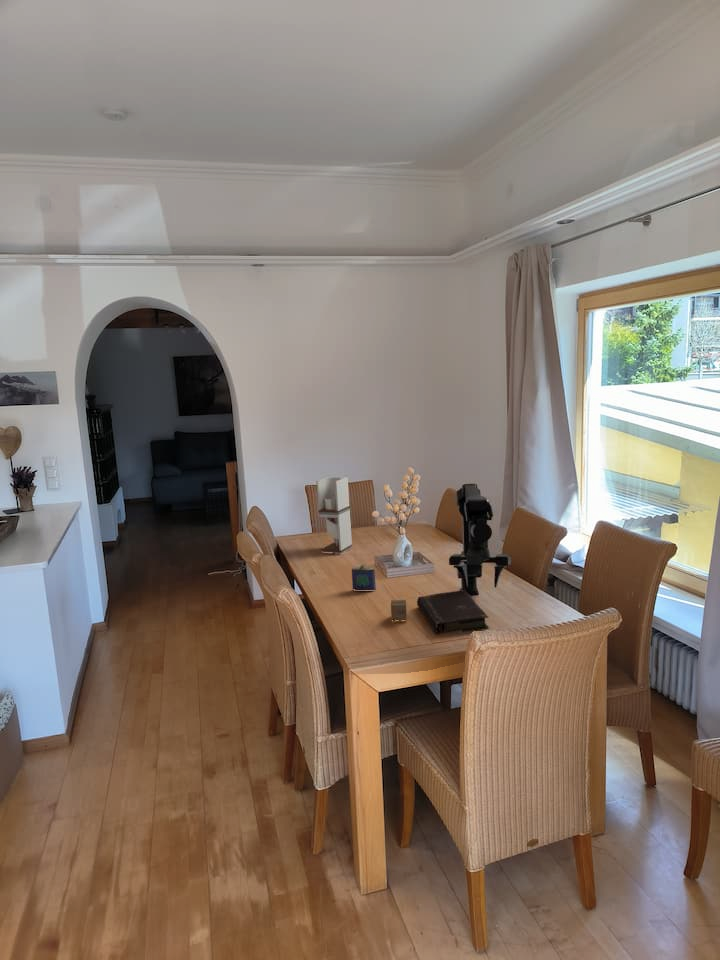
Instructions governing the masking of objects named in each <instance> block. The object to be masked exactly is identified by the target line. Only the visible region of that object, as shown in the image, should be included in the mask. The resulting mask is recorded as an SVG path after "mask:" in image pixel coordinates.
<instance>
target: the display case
mask: <svg viewBox="0 0 720 960" xmlns="http://www.w3.org/2000/svg"><path fill="white" fill-rule="evenodd" d="M348 479H349V478H348V477H347V476H346V477H345V476H343V477H342V476H338V477H337V476H327V477H324V478H322V479H318V480H316V493H317V495H316V497H317V507H318V517H319V518H325V522H326V523H325V524H326V525H325V526H326V533H327V534H328V535H329V536H330V537H332V538H333V542H332V543H330V544H328V545H326V546H325V547H323V548H321V552H322V551H323V552H333V553H343V552H344V551H346V550H348V549H350V548H351V547H352V548H353V539H352V536H353V535H352V527H351V526H352V525H351V523H352V521H351V513H350V512H351V510H350V494H349V493H350V492H349V480H348ZM350 550H351V549H350Z"/></svg>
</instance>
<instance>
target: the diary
mask: <svg viewBox="0 0 720 960" xmlns="http://www.w3.org/2000/svg"><path fill="white" fill-rule="evenodd" d="M416 604H417V607H418V609H419V610H420V611H421V613H422V612H423V613H422V614H423V616H424V618H425V619H426V621H427V623H428V624H429V623H430V624H429V625H430V627H432V630H433V632H434V633H435V635H436V636H437V635H439V633H438V630H439V632H440V633H442V634H444V633H452V632H453V633H454V632H463V633H464V632H465V633H466V632H470V631H471V632H472V631H473V630H474V631H481V630H487V629H489V628H490V626H488V625H487V623H486V619H487V618H489V616H488V615H487V614H486V613H485V611H484V610H483V609H482V608H481V607H480V606H479V604H477V602H476V601H475V600H474V599H473V597H472V595H469V594H468V593H467V592H466V591H465V590H463V591H460V590H455V591H446V592H440V593H434V594H428V595H422V596H418V598H417V600H416ZM437 626H438V627H437ZM474 631H473V632H474Z"/></svg>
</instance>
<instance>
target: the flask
mask: <svg viewBox="0 0 720 960" xmlns="http://www.w3.org/2000/svg"><path fill="white" fill-rule="evenodd" d="M365 566H366V564H365V563H362V564H360V566H355V567H352V568H351V581H352V583H351V584H352V590H353V589H355V590H377V585H376V573H375V572H376V569H375V567H365Z"/></svg>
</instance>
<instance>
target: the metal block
mask: <svg viewBox="0 0 720 960" xmlns="http://www.w3.org/2000/svg"><path fill="white" fill-rule="evenodd" d="M406 600H407V599H391V600H390V614H391V615H390V616H391V617H390V618H391V621H392V620H393V621H395V620H399V621H401V620H408V618H407V615H408V614H407V601H406Z"/></svg>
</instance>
